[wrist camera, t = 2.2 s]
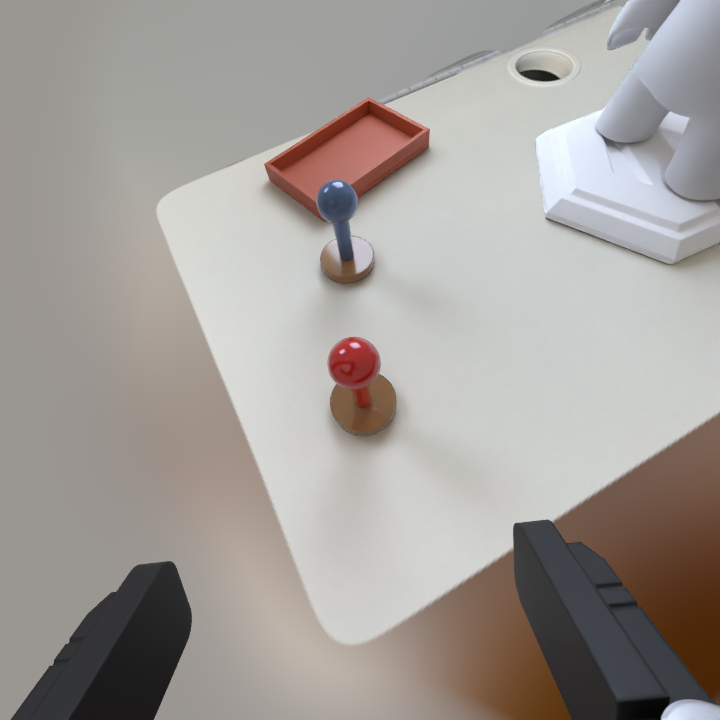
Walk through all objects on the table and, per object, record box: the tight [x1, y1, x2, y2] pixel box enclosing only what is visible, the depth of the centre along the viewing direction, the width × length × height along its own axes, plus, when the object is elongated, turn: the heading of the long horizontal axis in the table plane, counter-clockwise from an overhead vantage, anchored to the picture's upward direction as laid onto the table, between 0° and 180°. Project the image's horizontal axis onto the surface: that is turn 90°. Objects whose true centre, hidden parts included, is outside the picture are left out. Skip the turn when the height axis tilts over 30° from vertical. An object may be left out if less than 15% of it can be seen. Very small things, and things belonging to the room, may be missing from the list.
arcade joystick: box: [327, 337, 396, 436], centre depth 27 cm, size 5×5×9 cm
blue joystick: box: [316, 179, 374, 283], centre depth 34 cm, size 5×5×9 cm
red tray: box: [264, 98, 430, 221], centre depth 44 cm, size 16×10×2 cm, turn 133°
